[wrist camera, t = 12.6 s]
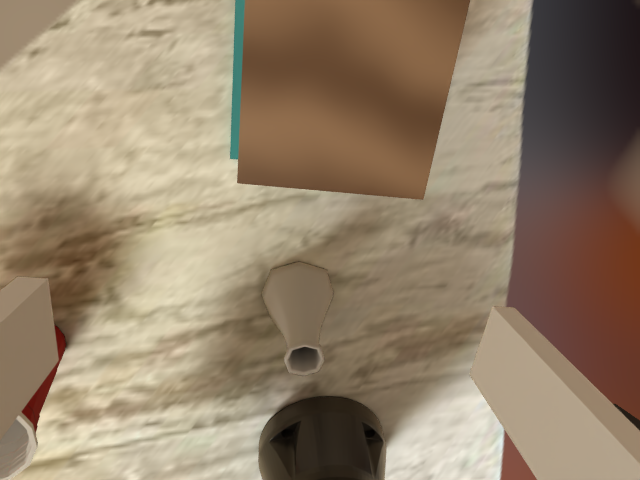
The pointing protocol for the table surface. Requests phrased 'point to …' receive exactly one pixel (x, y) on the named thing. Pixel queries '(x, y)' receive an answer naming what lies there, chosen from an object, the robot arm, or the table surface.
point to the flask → (299, 312)
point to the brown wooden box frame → (345, 92)
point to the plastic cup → (26, 426)
